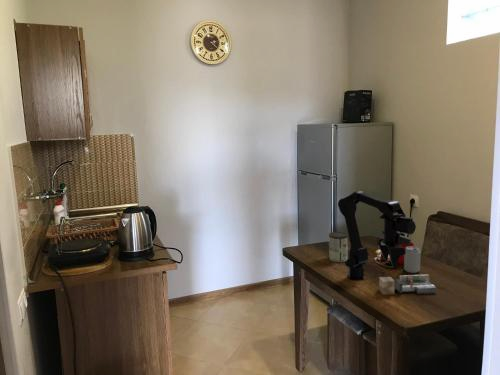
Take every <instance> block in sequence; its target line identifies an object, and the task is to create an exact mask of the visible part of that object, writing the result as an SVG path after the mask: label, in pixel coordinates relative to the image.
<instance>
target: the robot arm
mask: <svg viewBox="0 0 500 375" xmlns="http://www.w3.org/2000/svg"><path fill="white" fill-rule="evenodd" d="M359 203H363V204H366V205H368V206H371V207H373V208H376V209H377V210H378V211H379V212H380V213H382V215H381V216H379V219H381V220H383V230H382V231H381V232H382V234H383V236H377V238H376V243H377V246H378V248H379V250H380V253H381V255H382V257H383V259H384V261H385V262H387V261H388V260H390V263H391V266H392V268H393V269H394V268H397V264H398V263H397V262H398V260H399V258H400V257H401V256H402V255H404V254H406V249H405V248H403V247H402V246H401V245H400V243H401V244H404V245H406V246H409V245H410V242H411V241H412V239H411V238H409V237H407V236H406V234H407V235H413V234H414V233H415V231H416V228H417V226H416V225H417V224H416V223H415V221H414V219H413V217H406V216H407V215H406V214H405V212H404V211H403V208H402V207H401V205H400V202H399V201H397V200H393V199H382V198H379V197H377V196H374V195H373V194H372V195H371V194H369V193H366V192H364V191H362V190H357V191H354V192H352V193H350V194H349V195H348V196H345V197H343V198H340V199H339V200H338V202H337V206H338V209H339V211H340V213H341V215H342V216H343V217H344V220H345V225H346V231H347V234H348V240H349V243H350V247H349V251H348V256H349V257H348V259H347V260H346V261H344V263H345V266H346V267H347V268H348V270H347V272H348V274H347V277H348V279H350V280H351V281H354V280H364V276H365V269H364V267H363V266H365V265H366V263H367V261H368V260H369V252H368V247H364V245H362V244H363V243H362V241H361V238H360V237H361V236H360V232H359V227H358V223H357V218H356V212H357V209H358V207H357V205H358V204H359ZM396 245H398V246H396Z"/></svg>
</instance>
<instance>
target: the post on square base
mask: <svg viewBox="0 0 500 375" xmlns="http://www.w3.org/2000/svg"><path fill="white" fill-rule="evenodd" d="M430 286H435V284H433V283H431V284H425V285H413V280H410V285H403V283H402V282H401V281H400V278H396V279H395V285H394V290H396V291H397V292H398V293H399V294H403V292H405V293H406V292H416V287H430Z"/></svg>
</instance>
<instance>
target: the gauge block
mask: <svg viewBox="0 0 500 375" xmlns="http://www.w3.org/2000/svg"><path fill="white" fill-rule="evenodd" d="M378 277H379V278H378V284H379V286H378V290H379V292H380V293H381V294H382V295H395V283H396V280H394V279H393V278H392V277H391V276H378Z"/></svg>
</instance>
